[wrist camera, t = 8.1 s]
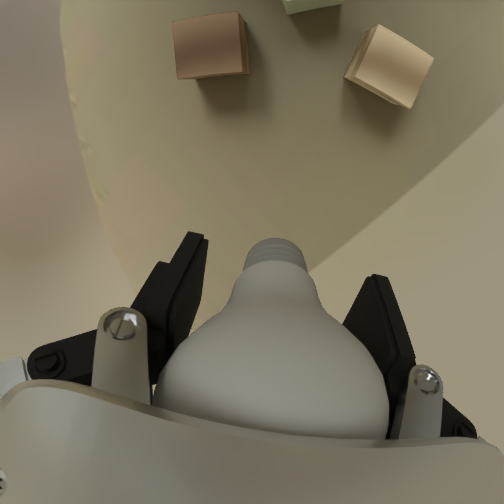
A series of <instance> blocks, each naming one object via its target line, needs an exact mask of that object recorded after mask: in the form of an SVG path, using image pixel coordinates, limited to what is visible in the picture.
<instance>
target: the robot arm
mask: <svg viewBox="0 0 504 504" xmlns="http://www.w3.org/2000/svg"><path fill="white" fill-rule="evenodd" d="M207 249H208V240H207V239H204V235H203V234H199V233H194V232H190V231H188V233H187V234H186V236H185V238H184V239H183V241H182V243H181V244H180V246H179V248H178V249H177V251H176V253H175V255H174V256H173V258H172V260H171V261H170V263H165V262H161V261H159V262H158V263H157V264H156V266H155V267H154V269H153V271H152V272H151V274H150V275H149V277H148V279H147V280H146V282H145V284H144V285H143V287H142V288H141V290H140V292H139V293H138V295H137V297H136V298H135V300H134V302H133V304H132V305H131V307H130V308H127V307H118V308H114V309H111V310H109V311H107V312H106V313H104V314H103V316H102V317H101V318H100V320H99V323H98V328H97V329H96V330H92V331H89V332H86V333H83V334H79V335H76V336H73V337H69V338H66V339H63V340H59V341H56V342H53V343H49V344H46V345H43V346H41V347H38V348H36V349H35V350H34V351H33V352H32V353H31V354H30V356H29V357H28V359H25V360H23V359H22V357H18V358H14V359H11V360H6V361H2V362H0V504H504V456H503V454H502V452H501V451H500V450H499V449H498V448H497V447H495V446H494V445H492V444H490V443H487V442H486V441H485V440H484V439H482V438H481V437H480V436H479V437H477V433H476V429H475V427H474V425H473V424H472V423H471V422H470V421H469V420H468V419H467V418H466V417H465V416H464V415H463V414H461V413H460V412H459V411H458V410H457V409H456V408H455V407H453V406H452V405H451V404H450V403H449V402H448V401H446V400H445V399H444V398H443V384H442V380H441V378H440V376H439V375H438V373H437V372H436V371H434V370H433V369H432V368H430V367H429V366H426V365H416V362H415V358H416V357H415V354H414V351H413V347H412V344H411V341H410V338H409V335H408V332H407V329H406V326H405V323H404V320H403V317H402V315H401V312H400V309H399V306H398V303H397V300H396V298H395V295H394V292H393V290H392V287H391V284H390V282H389V280H388V277H385V276H381V275H376V274H372V276H371V277H369V276H368V277H367V278H366V279H365V281H364V283H363V285H362V287H361V289H360V291H359V293H358V295H357V297H356V299H355V301H354V303H353V305H352V307H351V309H350V311H349V313H348V314H347V316H346V318H345V320H344V322H343V324H342V325H343V326H344V327H345V328H347V329H348V330H349V331H350V332H351V333H352V334H353V335H354V336H355V337H356V338H357V339H358V340H359V341H360V342H361V343H362V344H363V345H364V346H365V347H366V349H367V350H368V351H369V353H370V354H371V356H372V357H373V359H374V361H375V363H376V364H377V366H378V368H379V370H380V372H381V373H382V375H383V379H384V383H385V387H386V392H387V396H388V401H389V425H388V430H387V434H386V439H385V440H364V439H338V438H322V437H310V436H300V435H291V434H283V433H275V432H268V431H261V430H255V429H249V428H243V427H238V426H233V425H227V424H222V423H218V422H213V421H209V420H204V419H200V418H196V417H192V416H188V415H184V414H180V413H176V412H173V411H169V410H165V409H162V408H158V407H155V406H152V400H153V389H152V385H154V384H157V381H158V378H159V375H160V373H161V371H162V369H163V368H164V366H165V365H166V363H167V362H168V360H169V359H170V357H171V356H172V354H173V353H174V351H175V350H176V349H177V347H178V346H179V344H180V343H182V342H183V341H184V340H185V339H186V338H187V337H188V335H189V332H190V330H191V327H192V324H193V321H194V318H195V316H196V313H197V310H198V307H199V304H200V301H201V296H202V288H203V280H204V272H205V264H206V257H207Z"/></svg>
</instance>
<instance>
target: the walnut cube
mask: <svg viewBox="0 0 504 504" xmlns="http://www.w3.org/2000/svg"><path fill="white" fill-rule="evenodd" d="M173 34H174V48H175V60H176V71H177V79H200V78H208V77H217V76H227V75H238V74H250V65H249V51H248V37H247V23H246V22H245V20H244V19H243V18H242V16H241V15H240V14H239V12H238V11H237V12H228V13H220V14H213V15H206V16H200V17H194V18H188V19H183V20H178V21H174V22H173Z"/></svg>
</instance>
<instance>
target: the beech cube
mask: <svg viewBox="0 0 504 504" xmlns="http://www.w3.org/2000/svg"><path fill="white" fill-rule="evenodd" d="M433 60H434V58H433V57H431V56H430V55H428V54H427V53H425V52H424V51H422V50H421V49H419V48H418V47H416V46H415V45H413V44H412V43H410V42H409V41H407V40H405V39H404V38H402V37H401V36H399V35H397V34H396V33H394V32H392V31H390V30H389V29H387V28H385V27H383V26H382V25H380V24H378V25H377V26H375V27H373V28H372V29H370V30H368V31H367V32H365V33H364V34H363V37H362V39H361V41H360V43H359V45H358V47H357V50H356V52H355V54H354V56H353V58H352V60H351V62H350V65H349V67H348V69H347V71H346V73H345V75H344V78H346V79H348V80H350V81H352V82H354V83H356V84H358V85H360V86H361V87H363V88H365V89H367V90H369V91H371V92H372V93H374V94H376V95H378V96H380V97H381V98H383V99H385V100H387V101H388V102H390V103H392V104H395V105H399V106H403V107H406V108H410V109H411V107H412V105H413V103H414V101H415V99H416V97H417V95H418V93H419V90H420V88H421V86H422V84H423V82H424V80H425V77H426V75H427V73H428V71H429V69H430V66H431V64H432V62H433Z"/></svg>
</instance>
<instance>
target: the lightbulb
mask: <svg viewBox="0 0 504 504" xmlns="http://www.w3.org/2000/svg"><path fill="white" fill-rule="evenodd" d="M152 406H155V407H158V408H162V409H165V410H169V411H173V412H176V413H180V414H184V415H188V416H192V417H196V418H200V419H204V420H209V421H213V422H218V423H222V424H227V425H233V426H238V427H243V428H249V429H255V430H261V431H268V432H275V433H283V434H291V435H300V436H310V437H322V438H338V439H364V440H385V439H386V434H387V430H388V425H389V401H388V396H387V392H386V387H385V383H384V379H383V375H382V373H381V372H380V370H379V368H378V366H377V364H376V363H375V361H374V359H373V357H372V356H371V354H370V353H369V351H368V350H367V349H366V347H365V346H364V345H363V344H362V343H361V342H360V341H359V340H358V339H357V338H356V337H355V336H354V335H353V334H352V333H351V332H350V331H349V330H348V329H347V328H345V327H344V326H343V325H342V324H341V323H339V322H338V321H337V320H336V319H334V318H333V317H332V316H330V315H329V314H328V313H327V312H326V311H325V309H324V308H323V307H322V305H321V302H320V300H319V298H318V294H317V290H316V286H315V283H314V281H313V279H312V278H311V277H310V275H309V274H308V271H307V267H306V263H305V261H304V256H303V254H302V252H301V250H300V249H299V248H298V247H297V246H296V245H295V244H294V243H292V242H290V241H288V240H285V239H280V238H270V239H265V240H263V241H260V242H259V243H257V244H256V245H254V246H253V247H252V248H251V250H250V251H249V253H248V255H247V259H246V261H245V266H244V268H243V272H242V273H241V274H240V276H239V277H238V278H237V280H236V282H235V284H234V287H233V290H232V294H231V297H230V299H229V301H228V302H227V304H226V306H225V307H224V308H223V309H222V311H221V312H219V313H218V314H216V315H215V316H213V317H212V318H210V319H209V320H208V321H207V322H205V323H204V324H203V325H202V326H200V327H199V328H198V329H197V330H196V331H195V332H193V333H192V334H191V335H190V336H189V337H187V338H186V339H185V340H184V341H183V342H182V343H180V344H179V346H178V347H177V349H176V350H175V351H174V353H173V354H172V356H171V357H170V359H169V360H168V362H167V363H166V365H165V366H164V368H163V369H162V371H161V373H160V375H159V378H158V381H157V384H156V387H155V390H154V395H153V400H152Z"/></svg>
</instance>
